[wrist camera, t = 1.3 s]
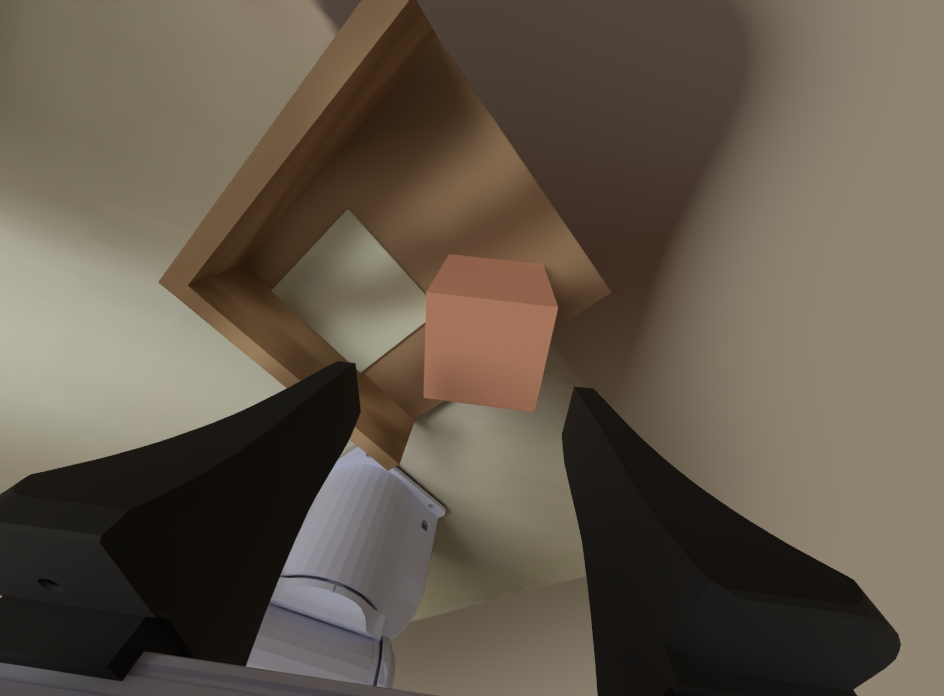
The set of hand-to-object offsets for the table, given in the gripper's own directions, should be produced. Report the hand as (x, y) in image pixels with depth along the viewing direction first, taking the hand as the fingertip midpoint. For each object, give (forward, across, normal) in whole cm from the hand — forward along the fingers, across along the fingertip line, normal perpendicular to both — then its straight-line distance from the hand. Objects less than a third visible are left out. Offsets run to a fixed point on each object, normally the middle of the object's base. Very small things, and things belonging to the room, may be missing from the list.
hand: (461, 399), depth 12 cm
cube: (+9, -1, 0) cm, 9 cm away
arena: (+10, +4, -1) cm, 11 cm away
